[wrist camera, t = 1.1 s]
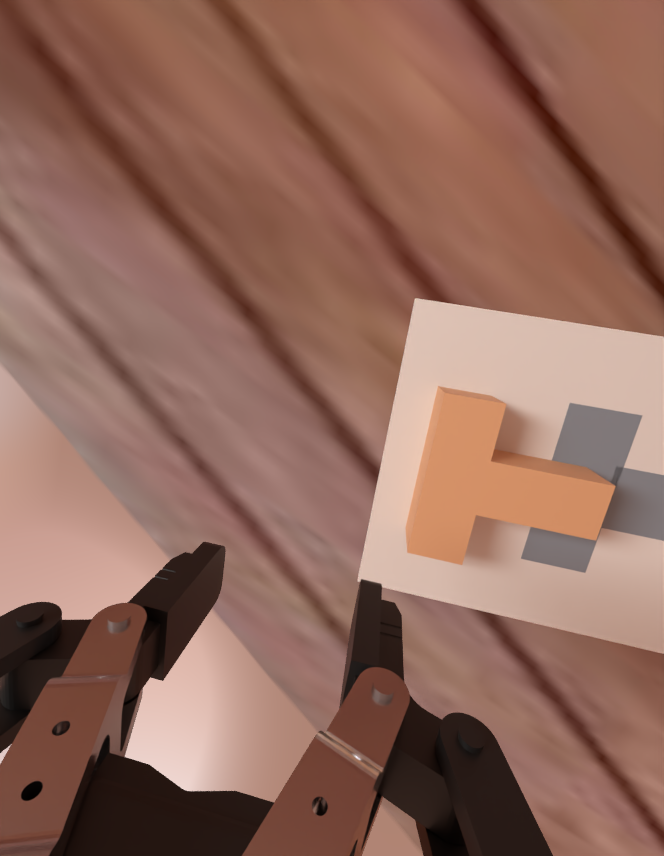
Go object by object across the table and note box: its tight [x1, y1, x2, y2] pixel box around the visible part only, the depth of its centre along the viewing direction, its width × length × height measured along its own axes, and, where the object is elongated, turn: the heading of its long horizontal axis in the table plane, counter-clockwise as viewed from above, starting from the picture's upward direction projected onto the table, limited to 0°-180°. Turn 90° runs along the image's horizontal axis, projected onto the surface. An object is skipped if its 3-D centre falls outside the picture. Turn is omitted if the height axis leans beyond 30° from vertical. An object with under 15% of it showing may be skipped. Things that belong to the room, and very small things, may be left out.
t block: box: [405, 386, 616, 565], centre depth 28 cm, size 12×12×4 cm
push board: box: [357, 298, 664, 654], centre depth 30 cm, size 30×24×1 cm
